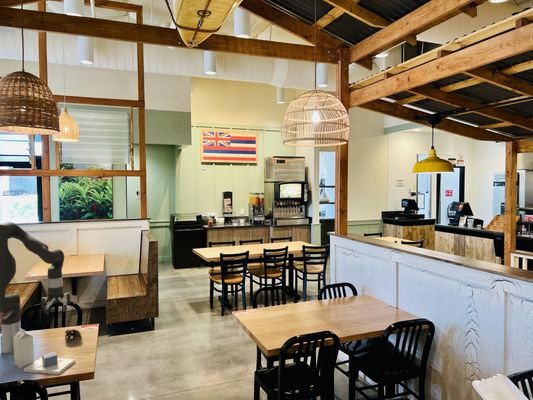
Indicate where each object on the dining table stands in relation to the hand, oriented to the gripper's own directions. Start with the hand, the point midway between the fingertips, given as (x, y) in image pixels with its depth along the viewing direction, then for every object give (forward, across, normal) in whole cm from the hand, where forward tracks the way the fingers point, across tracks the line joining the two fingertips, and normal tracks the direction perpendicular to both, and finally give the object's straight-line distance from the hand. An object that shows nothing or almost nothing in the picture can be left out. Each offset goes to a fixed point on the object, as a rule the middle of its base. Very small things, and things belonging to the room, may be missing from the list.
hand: (56, 313), depth 216 cm
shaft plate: (+24, -6, -14) cm, 28 cm away
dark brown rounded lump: (+24, +11, +13) cm, 30 cm away
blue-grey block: (+22, -7, -14) cm, 27 cm away
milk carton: (+24, -16, -1) cm, 29 cm away
